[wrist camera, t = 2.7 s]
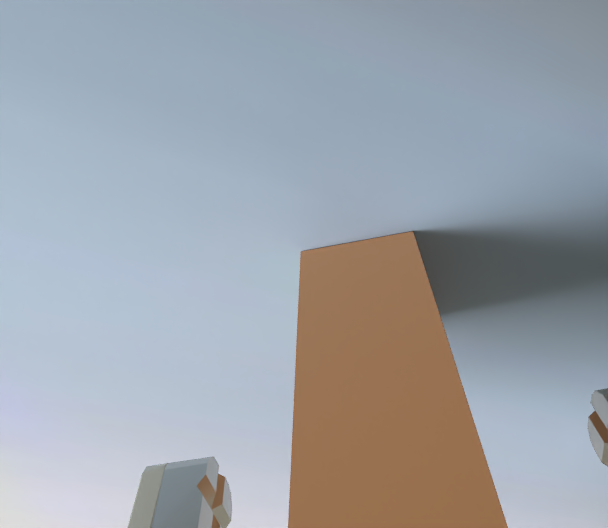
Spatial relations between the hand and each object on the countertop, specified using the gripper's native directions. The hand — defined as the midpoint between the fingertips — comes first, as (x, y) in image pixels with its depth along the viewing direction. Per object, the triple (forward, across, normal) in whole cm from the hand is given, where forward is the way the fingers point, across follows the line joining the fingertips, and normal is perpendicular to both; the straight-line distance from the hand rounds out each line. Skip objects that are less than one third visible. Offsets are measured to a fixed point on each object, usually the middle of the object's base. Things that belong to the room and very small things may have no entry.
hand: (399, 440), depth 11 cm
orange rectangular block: (+6, 0, 0) cm, 6 cm away
